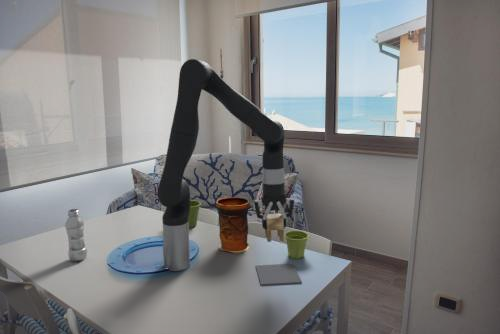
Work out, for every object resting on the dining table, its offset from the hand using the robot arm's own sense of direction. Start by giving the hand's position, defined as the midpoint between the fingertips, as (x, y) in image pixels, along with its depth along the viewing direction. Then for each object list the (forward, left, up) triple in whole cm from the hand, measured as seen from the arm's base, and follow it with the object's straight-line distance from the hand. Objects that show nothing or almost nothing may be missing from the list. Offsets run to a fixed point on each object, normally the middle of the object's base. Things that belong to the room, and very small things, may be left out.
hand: (274, 228), depth 129 cm
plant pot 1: (-33, +56, -18) cm, 67 cm away
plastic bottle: (-74, +22, -18) cm, 79 cm away
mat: (+1, +1, -17) cm, 18 cm away
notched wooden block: (0, 0, -4) cm, 4 cm away
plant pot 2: (+11, +16, -18) cm, 26 cm away
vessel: (-13, +28, -18) cm, 35 cm away
